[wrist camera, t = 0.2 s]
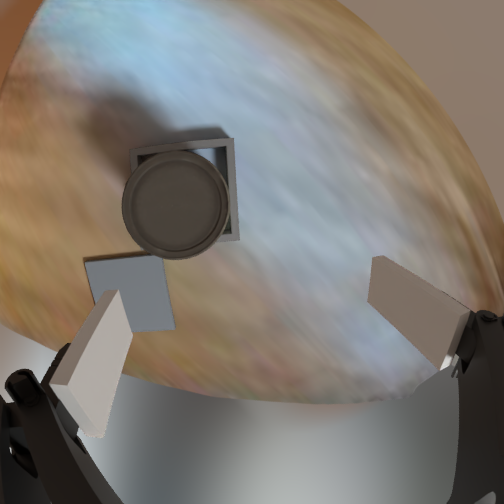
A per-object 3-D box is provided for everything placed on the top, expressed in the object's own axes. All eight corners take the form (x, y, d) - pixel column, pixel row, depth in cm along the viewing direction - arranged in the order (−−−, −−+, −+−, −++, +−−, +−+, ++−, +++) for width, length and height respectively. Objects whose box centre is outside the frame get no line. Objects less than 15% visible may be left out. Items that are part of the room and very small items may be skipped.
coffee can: (166, 238, 38) (148, 275, 25) (139, 173, 35) (105, 178, 22) (231, 212, 39) (246, 237, 26) (207, 145, 35) (208, 133, 22)
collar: (134, 150, 34) (129, 149, 31) (232, 139, 36) (233, 137, 33) (144, 245, 38) (140, 250, 36) (237, 235, 40) (239, 240, 38)
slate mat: (86, 261, 37) (84, 262, 36) (161, 253, 39) (161, 254, 38) (106, 330, 41) (105, 332, 40) (175, 326, 43) (175, 329, 42)
